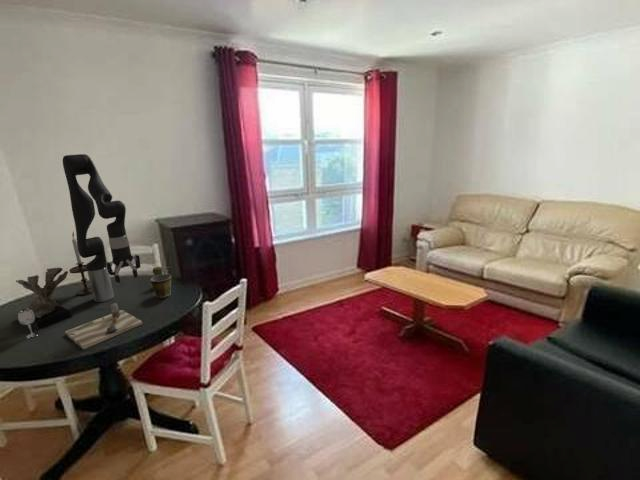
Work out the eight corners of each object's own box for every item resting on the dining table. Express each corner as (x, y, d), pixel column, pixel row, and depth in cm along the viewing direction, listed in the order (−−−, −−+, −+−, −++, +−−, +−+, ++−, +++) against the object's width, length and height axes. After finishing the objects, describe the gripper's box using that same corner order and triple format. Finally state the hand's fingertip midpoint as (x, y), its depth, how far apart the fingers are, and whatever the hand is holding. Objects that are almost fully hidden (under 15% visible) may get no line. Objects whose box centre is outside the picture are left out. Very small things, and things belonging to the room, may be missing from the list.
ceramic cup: (178, 293, 194) (175, 276, 191) (161, 300, 186) (158, 282, 183) (163, 289, 201) (160, 272, 198) (146, 296, 193) (143, 278, 190)
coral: (17, 317, 177) (4, 276, 171) (64, 300, 192) (54, 262, 186) (36, 330, 163) (23, 286, 157) (85, 311, 178) (75, 271, 172)
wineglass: (30, 332, 161) (22, 308, 157) (43, 331, 161) (36, 307, 158) (20, 339, 155) (12, 314, 152) (35, 338, 156) (27, 313, 152)
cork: (162, 288, 202) (158, 269, 199) (152, 287, 204) (148, 269, 201) (168, 283, 208) (165, 265, 205) (159, 283, 209) (155, 265, 206)
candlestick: (93, 286, 210) (78, 228, 200) (101, 290, 203) (87, 230, 193) (72, 293, 201) (56, 232, 191) (80, 297, 195) (64, 235, 185)
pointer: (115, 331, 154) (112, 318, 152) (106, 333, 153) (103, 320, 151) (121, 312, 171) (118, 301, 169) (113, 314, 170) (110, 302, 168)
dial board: (65, 334, 158) (64, 331, 157) (122, 312, 175) (121, 309, 175) (83, 349, 145) (82, 345, 145) (142, 324, 163) (142, 320, 163)
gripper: (133, 240, 170) (140, 273, 175) (99, 248, 160) (107, 283, 165) (139, 243, 165) (146, 277, 170) (104, 251, 155) (113, 287, 160)
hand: (127, 279), depth 167 cm, fingers open, 6 cm apart
